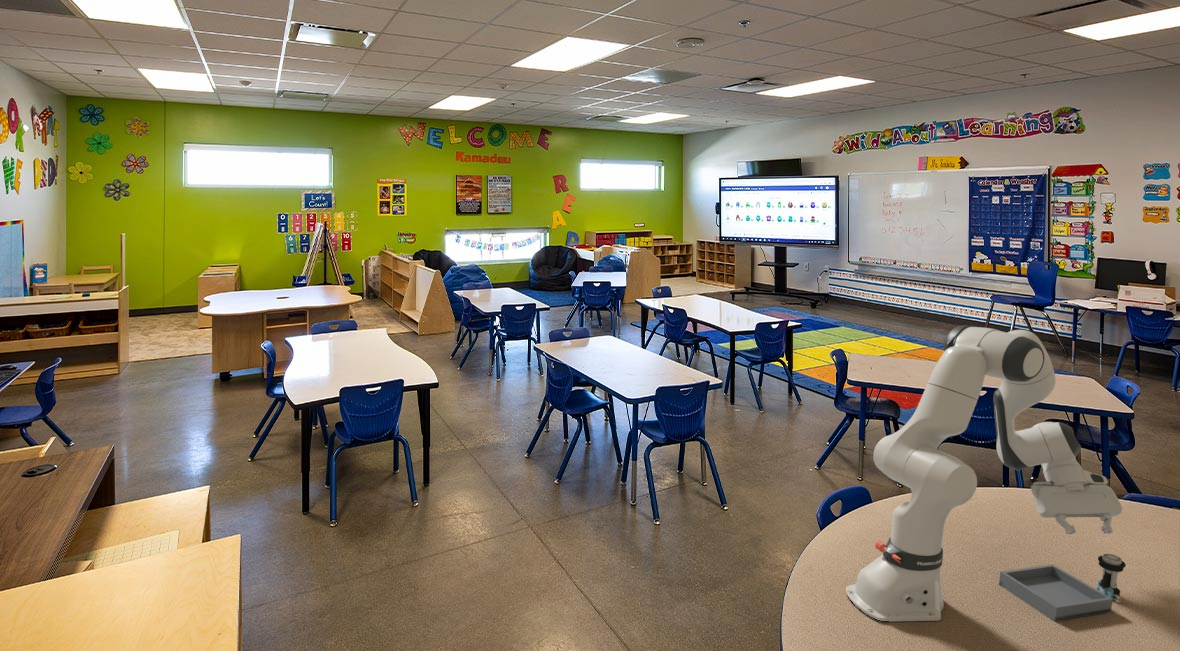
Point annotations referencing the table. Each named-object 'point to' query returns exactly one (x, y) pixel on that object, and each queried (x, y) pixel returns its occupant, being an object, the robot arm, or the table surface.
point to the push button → (1110, 575)
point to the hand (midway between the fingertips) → (1089, 533)
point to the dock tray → (1055, 592)
